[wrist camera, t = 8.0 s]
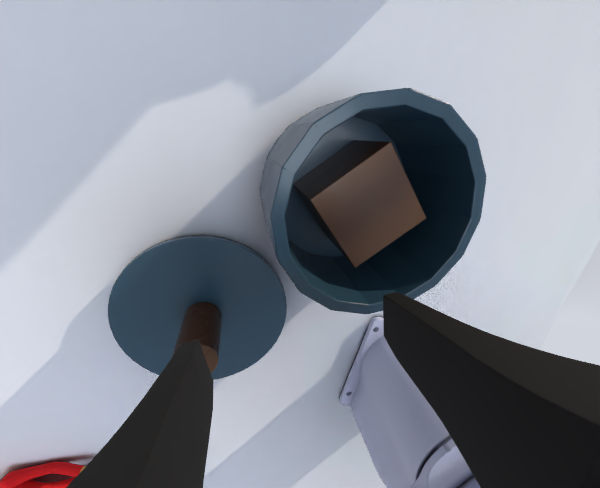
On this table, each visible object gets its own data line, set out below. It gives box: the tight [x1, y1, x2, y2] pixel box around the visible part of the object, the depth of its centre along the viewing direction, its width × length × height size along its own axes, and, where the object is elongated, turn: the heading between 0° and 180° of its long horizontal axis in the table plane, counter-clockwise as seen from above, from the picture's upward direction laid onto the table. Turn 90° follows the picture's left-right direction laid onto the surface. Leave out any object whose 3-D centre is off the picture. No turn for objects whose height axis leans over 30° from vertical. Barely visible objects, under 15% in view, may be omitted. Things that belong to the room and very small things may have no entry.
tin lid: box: [108, 236, 286, 380], centre depth 17 cm, size 11×11×5 cm
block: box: [293, 140, 426, 268], centre depth 16 cm, size 5×5×5 cm
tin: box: [260, 88, 486, 314], centre depth 15 cm, size 10×10×6 cm
